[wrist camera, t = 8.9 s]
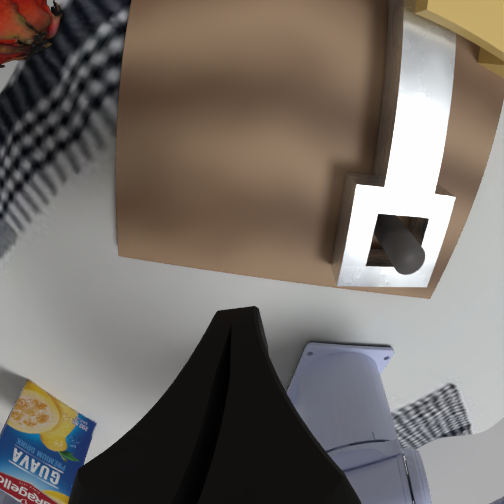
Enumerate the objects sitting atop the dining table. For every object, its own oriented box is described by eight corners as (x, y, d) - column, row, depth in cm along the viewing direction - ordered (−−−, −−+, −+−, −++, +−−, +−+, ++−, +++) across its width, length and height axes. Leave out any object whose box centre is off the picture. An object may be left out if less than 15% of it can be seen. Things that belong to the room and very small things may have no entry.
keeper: (504, 78, 13) (551, 89, 9) (388, 21, 12) (426, 9, 8) (509, 38, 11) (556, 42, 7) (394, -24, 11) (432, -45, 7)
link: (415, 269, 20) (426, 287, 18) (330, 266, 20) (337, 286, 18) (459, 9, 11) (478, 5, 9) (361, -22, 11) (373, -33, 9)
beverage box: (81, 432, 37) (46, 555, 18) (19, 392, 34) (-31, 515, 15) (97, 423, 35) (59, 564, 16) (27, 378, 31) (-31, 520, 12)
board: (424, 290, 22) (451, 336, 18) (123, 248, 21) (94, 293, 16) (504, 34, 12) (555, 37, 8) (152, -59, 10) (120, -92, 6)
